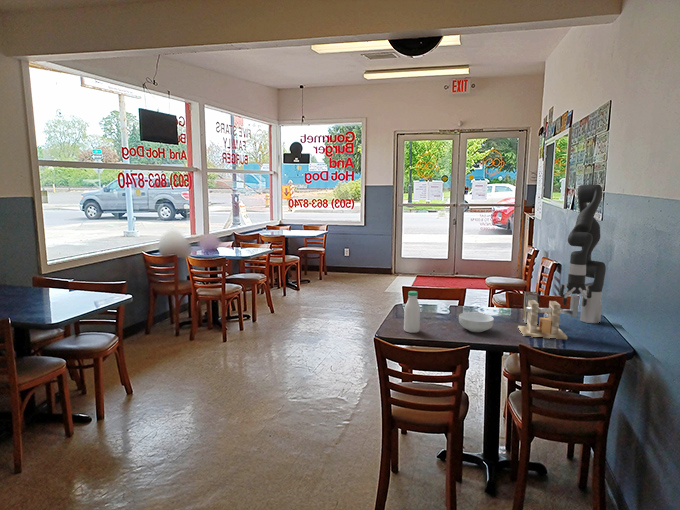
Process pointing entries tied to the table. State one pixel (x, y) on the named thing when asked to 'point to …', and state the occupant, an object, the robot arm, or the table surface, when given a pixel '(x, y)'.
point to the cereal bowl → (476, 321)
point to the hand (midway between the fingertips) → (574, 305)
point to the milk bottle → (412, 313)
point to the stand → (533, 318)
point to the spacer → (545, 325)
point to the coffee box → (527, 297)
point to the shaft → (572, 311)
